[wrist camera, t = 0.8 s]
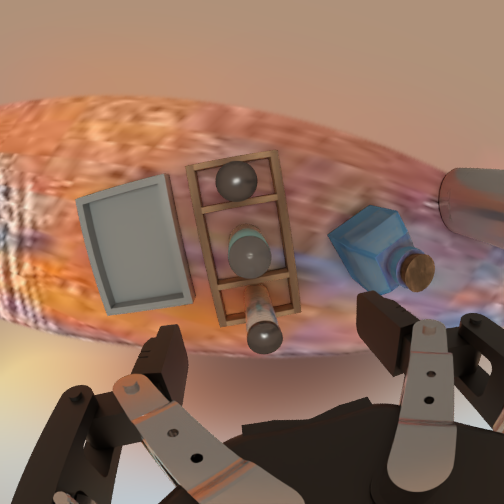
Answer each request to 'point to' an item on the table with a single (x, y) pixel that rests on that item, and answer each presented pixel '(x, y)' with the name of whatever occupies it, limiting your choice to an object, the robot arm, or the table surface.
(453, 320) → the table surface
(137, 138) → the table surface
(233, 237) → the cylinder
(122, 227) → the dish
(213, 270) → the rack
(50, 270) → the table surface
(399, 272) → the perfume bottle
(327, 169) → the table surface
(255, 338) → the canister
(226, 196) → the glass vial
